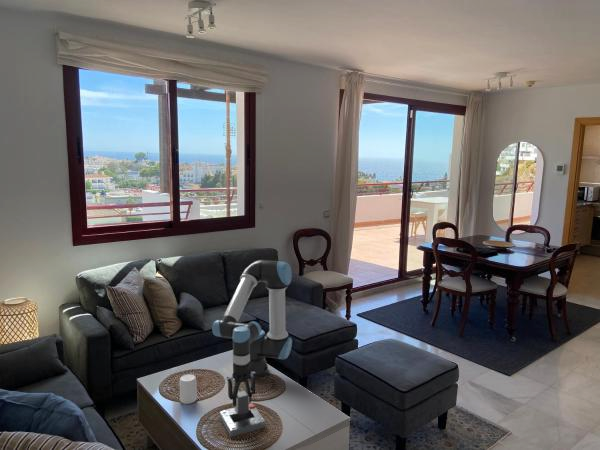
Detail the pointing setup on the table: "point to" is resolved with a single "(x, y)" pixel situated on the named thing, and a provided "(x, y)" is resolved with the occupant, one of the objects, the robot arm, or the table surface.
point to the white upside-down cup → (188, 388)
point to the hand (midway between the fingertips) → (242, 410)
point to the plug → (242, 402)
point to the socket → (242, 421)
